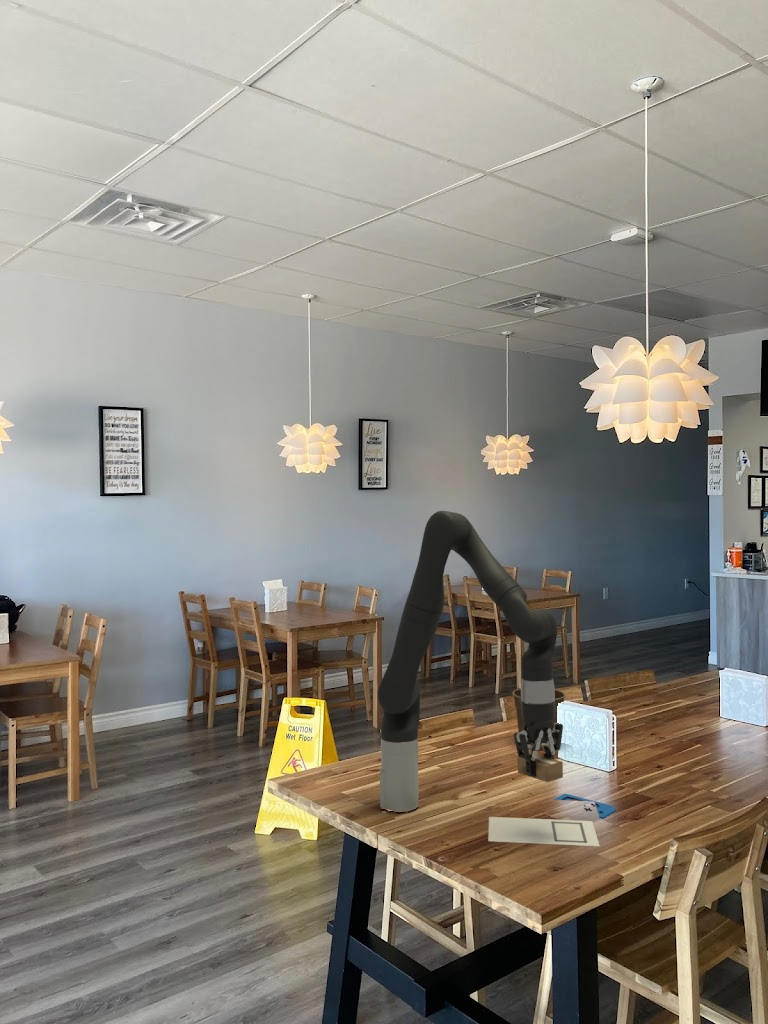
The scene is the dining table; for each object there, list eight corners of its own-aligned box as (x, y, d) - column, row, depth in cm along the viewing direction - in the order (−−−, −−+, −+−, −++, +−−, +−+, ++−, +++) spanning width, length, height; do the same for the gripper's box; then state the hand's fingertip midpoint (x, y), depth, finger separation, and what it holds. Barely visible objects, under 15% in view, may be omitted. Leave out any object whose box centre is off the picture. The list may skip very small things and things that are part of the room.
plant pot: (570, 752, 245) (570, 699, 244) (516, 752, 245) (516, 699, 245) (560, 737, 261) (559, 687, 261) (509, 737, 261) (509, 687, 261)
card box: (517, 772, 186) (517, 756, 186) (533, 767, 189) (532, 752, 189) (547, 782, 179) (547, 765, 179) (562, 777, 182) (562, 761, 182)
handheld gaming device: (603, 816, 193) (547, 801, 203) (603, 820, 193) (547, 805, 203) (619, 806, 199) (564, 792, 209) (619, 810, 199) (564, 796, 209)
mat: (488, 843, 180) (488, 840, 180) (488, 818, 194) (488, 816, 194) (599, 848, 177) (599, 845, 177) (592, 823, 191) (592, 820, 191)
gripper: (547, 690, 191) (549, 763, 191) (503, 700, 183) (505, 776, 183) (572, 696, 185) (574, 770, 185) (527, 706, 177) (530, 784, 177)
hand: (540, 773), depth 184 cm, fingers closed on card box, 5 cm apart
